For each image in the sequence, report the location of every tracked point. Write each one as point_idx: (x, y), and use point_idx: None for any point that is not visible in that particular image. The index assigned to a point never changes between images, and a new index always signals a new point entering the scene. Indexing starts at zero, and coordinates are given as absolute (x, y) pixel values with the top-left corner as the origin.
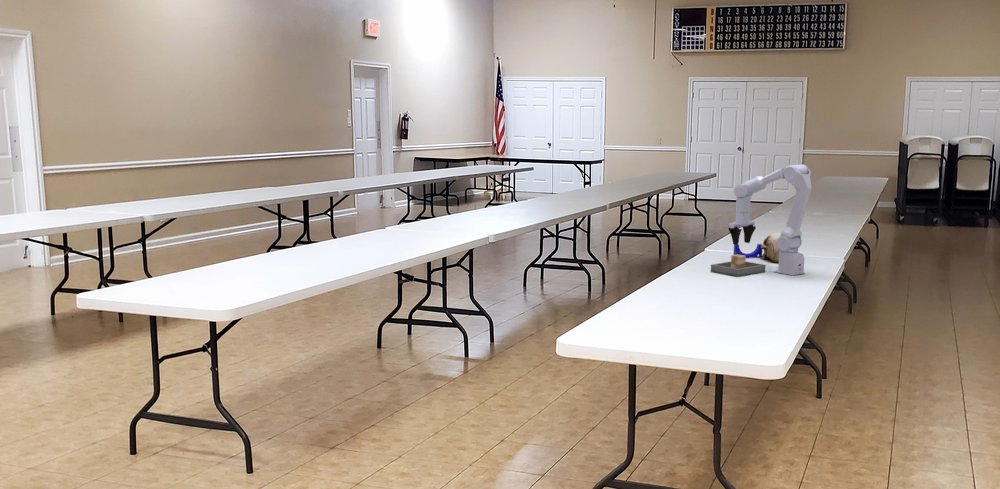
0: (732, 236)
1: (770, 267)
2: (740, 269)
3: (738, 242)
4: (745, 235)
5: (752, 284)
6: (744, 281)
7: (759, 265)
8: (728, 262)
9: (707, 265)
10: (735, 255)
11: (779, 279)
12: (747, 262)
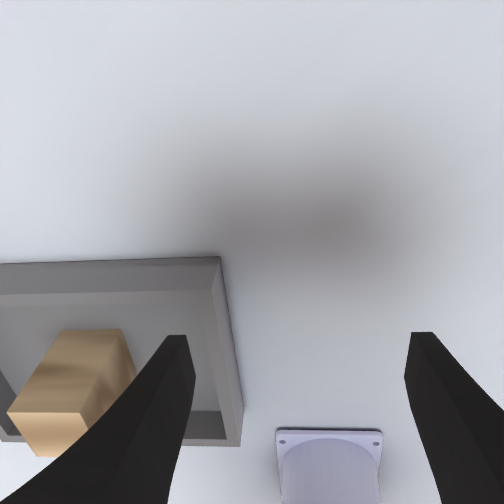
0: (113, 423)
1: (395, 359)
2: (22, 440)
3: (188, 405)
4: (449, 426)
5: (8, 485)
6: (6, 454)
7: (192, 441)
8: (75, 303)
9: (26, 67)
10: (36, 425)
11: (171, 492)
12: (210, 359)
